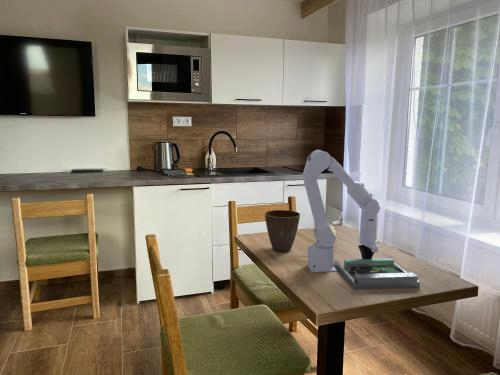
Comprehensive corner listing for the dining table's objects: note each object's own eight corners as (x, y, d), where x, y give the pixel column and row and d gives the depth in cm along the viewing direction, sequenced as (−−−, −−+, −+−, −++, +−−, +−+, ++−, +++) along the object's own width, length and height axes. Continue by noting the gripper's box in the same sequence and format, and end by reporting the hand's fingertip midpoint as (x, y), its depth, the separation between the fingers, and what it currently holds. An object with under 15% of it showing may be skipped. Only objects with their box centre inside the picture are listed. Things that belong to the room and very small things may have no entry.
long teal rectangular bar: (346, 272, 144) (346, 261, 144) (343, 269, 147) (344, 259, 146) (393, 271, 146) (394, 260, 145) (391, 268, 148) (391, 258, 148)
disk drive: (362, 285, 134) (404, 283, 136) (363, 277, 134) (405, 275, 135) (352, 274, 144) (391, 272, 146) (352, 266, 144) (391, 264, 145)
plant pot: (261, 245, 176) (261, 210, 174) (293, 243, 179) (294, 209, 176) (269, 256, 162) (269, 218, 159) (303, 254, 164) (305, 216, 162)
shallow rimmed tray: (354, 289, 129) (355, 278, 129) (334, 265, 152) (334, 255, 151) (419, 287, 131) (420, 276, 131) (389, 263, 154) (390, 253, 153)
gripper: (387, 234, 140) (384, 271, 142) (371, 224, 154) (369, 258, 156) (367, 235, 139) (365, 272, 141) (353, 224, 153) (351, 258, 155)
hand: (366, 264), depth 149 cm, fingers closed
